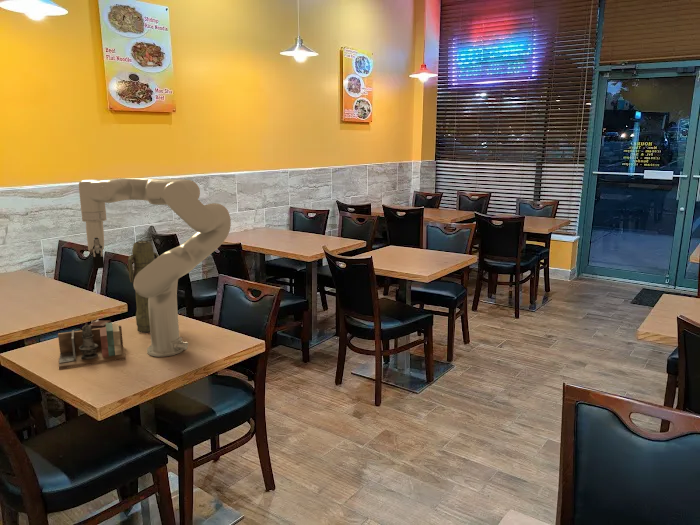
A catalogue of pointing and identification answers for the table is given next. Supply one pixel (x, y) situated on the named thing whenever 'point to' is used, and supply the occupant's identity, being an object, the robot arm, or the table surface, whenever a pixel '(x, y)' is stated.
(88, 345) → the dark grey chess piece
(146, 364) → the table surface
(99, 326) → the box
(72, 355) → the bookend
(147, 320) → the robed figure statue
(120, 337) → the shelf
